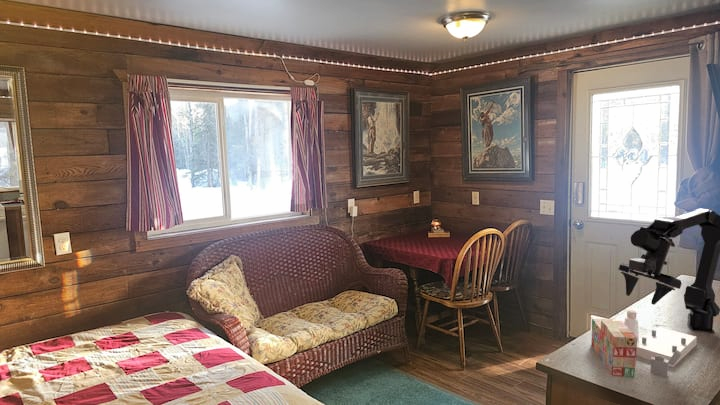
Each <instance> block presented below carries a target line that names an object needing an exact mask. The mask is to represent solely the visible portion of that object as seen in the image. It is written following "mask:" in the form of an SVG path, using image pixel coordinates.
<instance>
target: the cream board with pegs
mask: <svg viewBox="0 0 720 405" xmlns="http://www.w3.org/2000/svg"><path fill="white" fill-rule="evenodd" d="M696 346H697V336H695V335H691V334H687V333H684V332H680V331H675V330H673V329H672V330H671V329H667V328H664V327H660V326H659V327H657V328H655V329H652V330H651V332H650V333H649V334H648V335H646V336H643V337H641V340H639V342H638V343H637V352H636V357H638V358H642V359H645V360H648V361H651V358H652V357H655V356H657V355H659V356H663V357H664V360H668V361H669V359H670V358H671V357H672V356H673V354H674V353H675V352H676V350H678V351H679V352H681V353H682V355H681V356H680V358H679V359H678V360H677V361H676V363H675V364H674V365H671V364H670V363H668V367H671V368H674V367H675V366H676V365H677V364H678V363H679V362H681V361H682V359H684V358H685V356H686V355H688V354H689V353H690V352H691V351H692V349H694V348H695V347H696Z"/></svg>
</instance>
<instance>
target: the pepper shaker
mask: <svg viewBox="0 0 720 405" xmlns="http://www.w3.org/2000/svg"><path fill="white" fill-rule="evenodd" d="M637 313H638V312H637V311H635V310H631V309H629V310H627V311H626V314H627V315H626V317H625V318H624V322H623V323H624V324H625V325H626V326H627V327H628V328H629V329H630V330H631V331H632V332H633V334H634V335H635V336H636V337H637V343H638V342H640V340H639V339H640V336H639V320H638V318H637Z"/></svg>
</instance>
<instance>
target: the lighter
mask: <svg viewBox="0 0 720 405" xmlns="http://www.w3.org/2000/svg"><path fill="white" fill-rule="evenodd" d="M681 355H682V353H681V352H679V351H678V350H676V352H675V353H674V354H673V356H672V357H671V358H670V359H669V361H668V360H664V357H663V356H659V355H657V356H655V357H652V358H651V360H650V361H651V362H650V374H654V375H658V376H661V377H668V376H669V374H668V373H669V372H668V371H669V366H668V363H670V364H671V365H674V364H675V363H676V361H677V360H678V359H679V358H680V356H681Z"/></svg>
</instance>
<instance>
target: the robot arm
mask: <svg viewBox="0 0 720 405" xmlns="http://www.w3.org/2000/svg"><path fill="white" fill-rule="evenodd" d="M695 226H698V227H699V228H700V230H701V231H700V236H701V237H702V240H703V242H704V243H703V246H702V251H701V255H700V259H699V262H698V263H699V264H698V267H697V270H696V275H695V278H694V279H695V280H694V282H693V283H692V284H691V285H687V286H686V287H685V292H684V295H683V301H684V306H685V309H686V310H689V313H688V314H687V325H688V327H689V329H691V330H692V331H694V332H695V331H696V332H702V333H703V332H704V333H715V330H714V329H713V328H714V318H715V317H717V316H718V315H720V306H719V305H718V304H717V303H716V301H715V300H716V299H715V298H716V294H715V290H714V288H713V281H714V277H715V275H716V269H717V266H718V262H719V257H720V215H719V214H718V213H716V211H715V210H713V209H708V208H703V207H702V208H701V207H700V208H696V209H694V210H693V211H689V212H686V213H684V214H679V215H677V216H674V217H667V216H666V217H656V218H654V220H653V222H651V223H650V224H649V225H648V226H647V227H646V226H640V227H639V228H640V229H638V230H636V231H634V232H633V233H632V234H631V236H630V242H631V245H632V246H635V247H637V248H639V249H641V250H643V251H646V252H645V253H643V254H642V255H641V256H640V258H639V257H638V258H629V259H628V263H624V262H622V263H620V264H619V266H618V271H620V273H621V274H622V276H623V277H624V280H625V295H626V296H627V297H630V295H631V294H632V292H633V291H634V289H635V287H636V285H637V283H638V280H639V279H640V278H639V277H638V276H641V277H643V278H648V279H651V280H655V287H656V288H655V291H654V293H653V297H652V299H651V305H656V304H657V303H658V302H659V301H660V300H661V299H663V298H664V297H665V296H666V295H668V294H669V293H670V292H672V291H676V289H678V290H681V286H682V280H681V279H679V278H677V277H674V276H672V275H668V274H664V273H662V270H663V267H664V266H667V265H668V262H667V261H666V259H667V257H668V254H669V251H670V248H671V247H672V248H675V247H676V244H675V242H674V241H673V238H676V237H679V236H680V235H681V234H683V232H684V231H685V230H687V229H689V228H692V227H695ZM657 281H658V282H657Z"/></svg>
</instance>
